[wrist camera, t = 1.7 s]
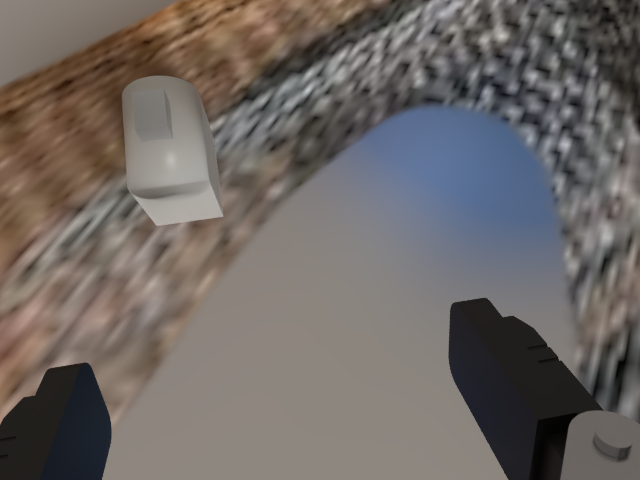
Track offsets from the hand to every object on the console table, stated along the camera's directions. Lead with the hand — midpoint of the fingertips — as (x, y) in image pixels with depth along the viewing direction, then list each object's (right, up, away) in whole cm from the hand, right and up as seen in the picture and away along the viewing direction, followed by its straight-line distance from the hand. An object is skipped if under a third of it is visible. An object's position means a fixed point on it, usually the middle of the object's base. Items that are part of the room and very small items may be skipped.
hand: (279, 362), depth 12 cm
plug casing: (-8, +7, +24) cm, 26 cm away
